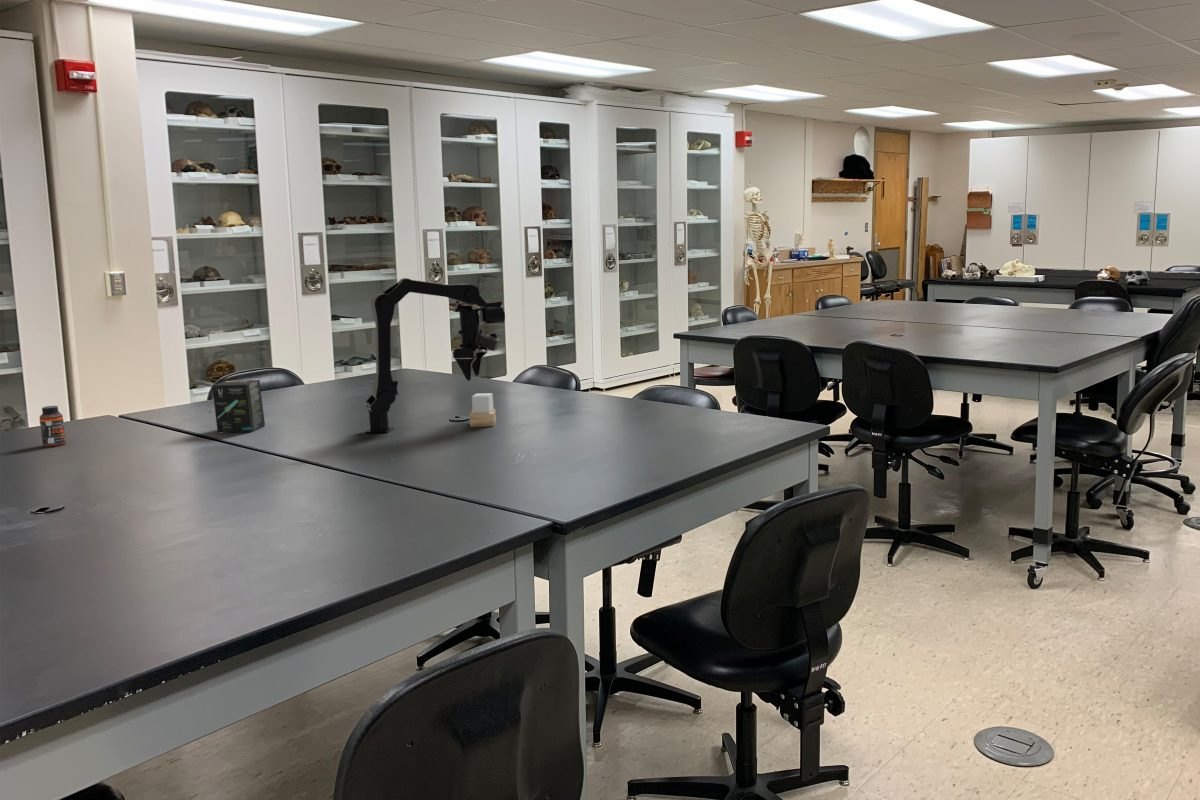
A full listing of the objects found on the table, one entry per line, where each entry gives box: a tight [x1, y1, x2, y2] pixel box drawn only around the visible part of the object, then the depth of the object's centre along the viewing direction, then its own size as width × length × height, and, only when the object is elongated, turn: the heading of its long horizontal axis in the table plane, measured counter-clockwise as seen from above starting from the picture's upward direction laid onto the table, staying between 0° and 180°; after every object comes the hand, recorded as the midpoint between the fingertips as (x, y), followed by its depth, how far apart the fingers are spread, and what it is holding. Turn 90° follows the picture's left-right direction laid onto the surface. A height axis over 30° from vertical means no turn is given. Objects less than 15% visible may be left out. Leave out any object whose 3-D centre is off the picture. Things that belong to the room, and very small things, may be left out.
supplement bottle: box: [39, 405, 67, 448], centre depth 280 cm, size 6×6×11 cm
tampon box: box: [212, 379, 266, 433], centre depth 291 cm, size 11×9×15 cm
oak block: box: [469, 408, 497, 428], centre depth 286 cm, size 7×7×4 cm
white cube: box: [471, 392, 495, 413], centre depth 286 cm, size 5×5×5 cm
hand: (473, 377), depth 291 cm, fingers open, 9 cm apart
